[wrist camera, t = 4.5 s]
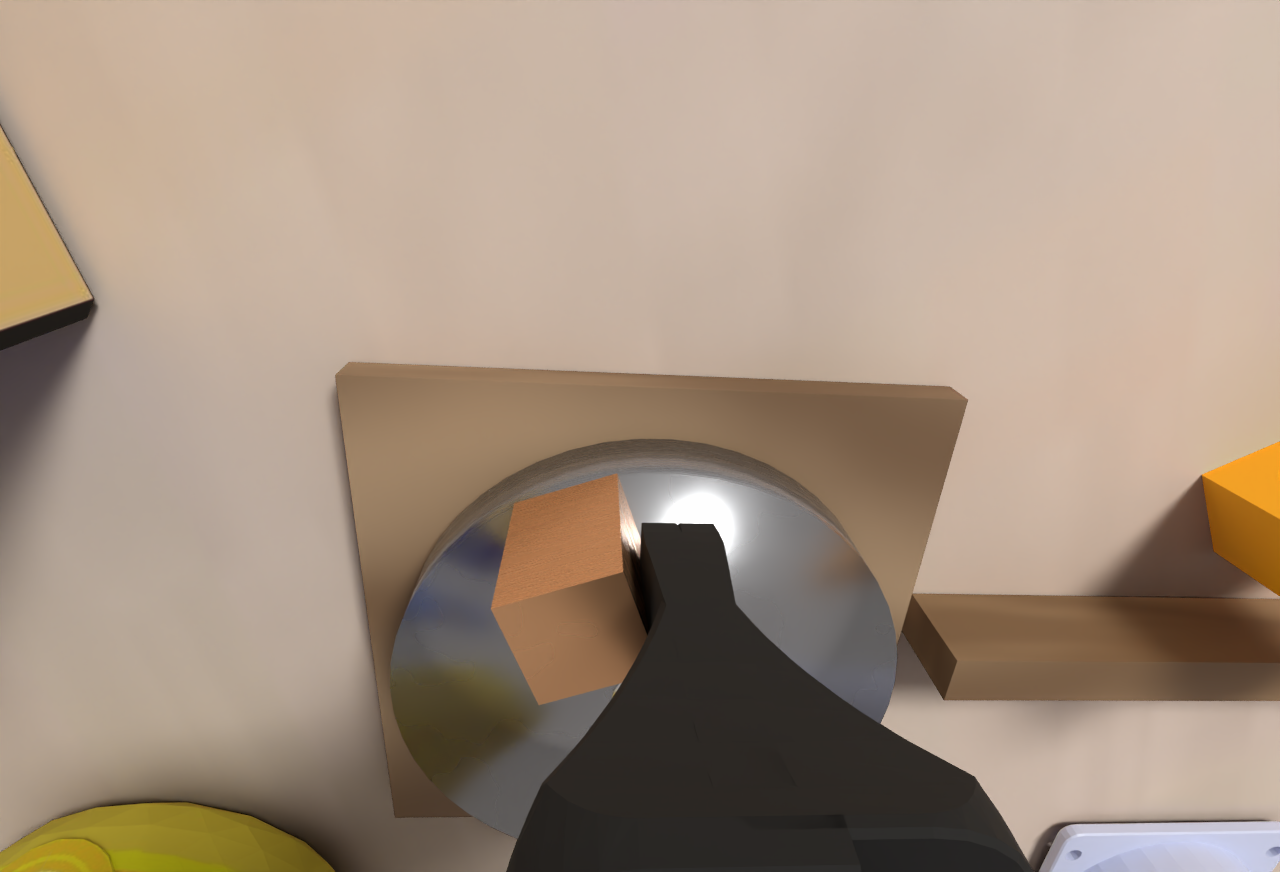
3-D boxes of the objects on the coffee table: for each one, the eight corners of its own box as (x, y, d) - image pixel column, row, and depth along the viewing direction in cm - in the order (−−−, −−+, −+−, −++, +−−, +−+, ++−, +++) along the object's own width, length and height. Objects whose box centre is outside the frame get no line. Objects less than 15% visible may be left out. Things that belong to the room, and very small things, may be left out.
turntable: (896, 741, 18) (986, 927, 14) (511, 839, 19) (486, 1043, 14) (828, 373, 13) (934, 484, 9) (322, 522, 14) (206, 688, 10)
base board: (839, 787, 20) (849, 812, 19) (402, 791, 19) (394, 817, 18) (950, 386, 15) (967, 400, 14) (348, 362, 14) (335, 375, 13)
